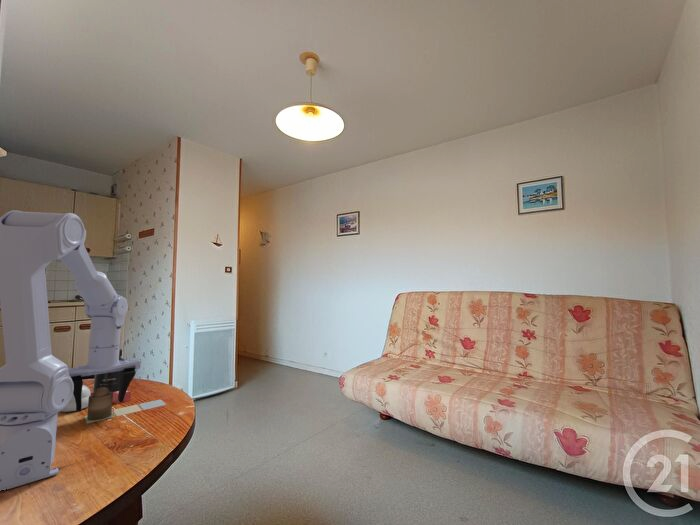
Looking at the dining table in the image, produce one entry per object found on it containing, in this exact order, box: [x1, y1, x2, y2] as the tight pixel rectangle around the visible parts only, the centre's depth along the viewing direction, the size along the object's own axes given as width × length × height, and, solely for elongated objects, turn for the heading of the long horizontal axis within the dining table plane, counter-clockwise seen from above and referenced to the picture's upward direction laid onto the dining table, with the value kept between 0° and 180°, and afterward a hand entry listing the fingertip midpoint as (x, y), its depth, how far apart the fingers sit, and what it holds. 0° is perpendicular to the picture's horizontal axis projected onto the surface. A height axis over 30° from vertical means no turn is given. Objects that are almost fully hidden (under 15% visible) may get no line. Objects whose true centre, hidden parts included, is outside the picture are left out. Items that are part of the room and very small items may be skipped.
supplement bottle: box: [92, 348, 126, 394], centre depth 89 cm, size 7×7×12 cm
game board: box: [83, 398, 167, 424], centre depth 76 cm, size 11×16×1 cm
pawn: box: [86, 387, 113, 421], centre depth 72 cm, size 4×4×6 cm
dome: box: [60, 384, 92, 413], centre depth 76 cm, size 6×6×6 cm
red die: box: [112, 389, 132, 405], centre depth 81 cm, size 3×3×3 cm
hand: (100, 405), depth 72 cm, fingers open, 7 cm apart
